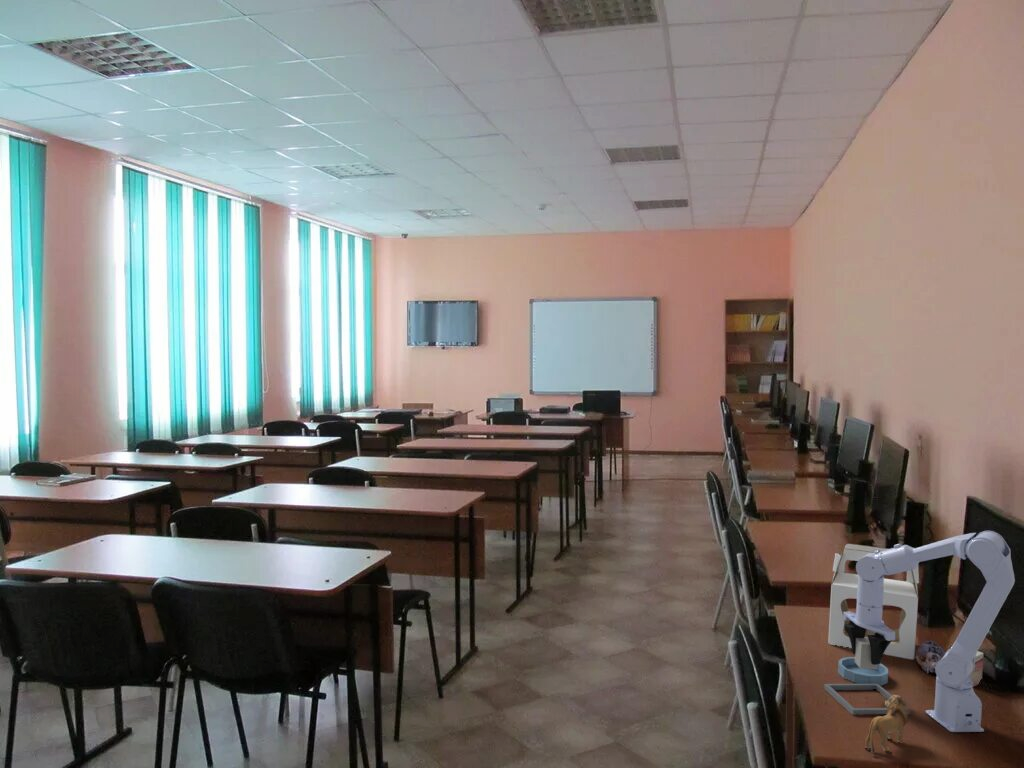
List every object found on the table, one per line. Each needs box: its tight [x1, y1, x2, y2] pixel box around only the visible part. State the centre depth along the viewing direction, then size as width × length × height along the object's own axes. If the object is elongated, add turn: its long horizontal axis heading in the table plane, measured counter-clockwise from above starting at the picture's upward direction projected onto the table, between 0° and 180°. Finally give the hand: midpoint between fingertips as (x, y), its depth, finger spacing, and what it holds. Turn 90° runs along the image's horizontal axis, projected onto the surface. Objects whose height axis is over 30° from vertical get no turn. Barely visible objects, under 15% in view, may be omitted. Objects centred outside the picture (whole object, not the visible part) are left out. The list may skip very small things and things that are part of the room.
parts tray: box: [823, 683, 911, 716], centre depth 188 cm, size 14×14×1 cm
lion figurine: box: [864, 694, 909, 755], centre depth 168 cm, size 15×5×9 cm, turn 136°
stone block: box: [854, 638, 878, 670], centre depth 191 cm, size 4×4×6 cm
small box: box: [969, 650, 984, 688], centre depth 201 cm, size 5×4×8 cm
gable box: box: [827, 543, 920, 661], centre depth 224 cm, size 22×13×28 cm, turn 64°
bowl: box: [837, 656, 889, 687], centre depth 203 cm, size 12×12×2 cm
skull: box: [914, 640, 946, 674], centre depth 209 cm, size 12×8×6 cm, turn 151°
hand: (866, 658), depth 191 cm, fingers closed on stone block, 5 cm apart
